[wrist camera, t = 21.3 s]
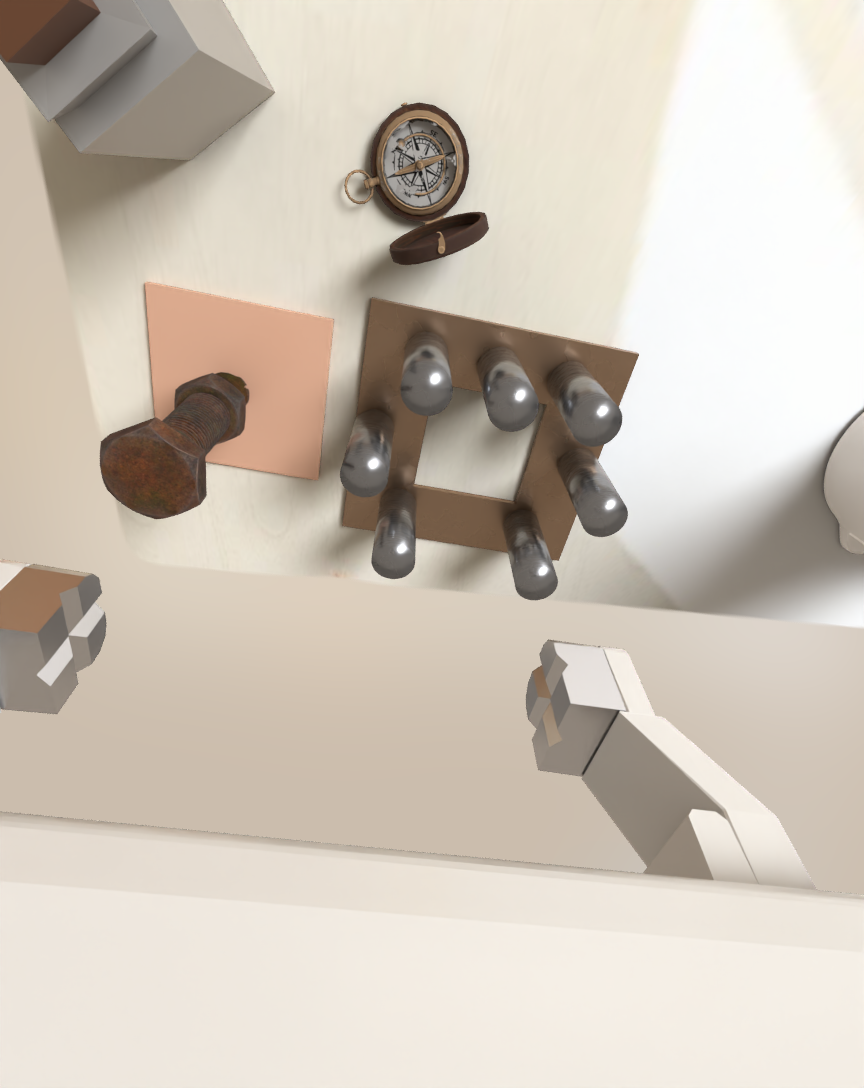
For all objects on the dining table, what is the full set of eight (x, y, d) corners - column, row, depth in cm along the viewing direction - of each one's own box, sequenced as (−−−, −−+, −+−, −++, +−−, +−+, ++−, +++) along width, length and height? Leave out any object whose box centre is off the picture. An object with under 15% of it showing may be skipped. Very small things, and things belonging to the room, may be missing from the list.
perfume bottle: (107, 36, 32) (-174, -87, 17) (196, -47, 30) (-30, -265, 15) (190, 160, 35) (15, 148, 20) (275, 92, 34) (153, 24, 19)
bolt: (262, 430, 45) (198, 529, 32) (197, 419, 44) (106, 515, 32) (264, 358, 42) (195, 436, 29) (194, 344, 41) (93, 418, 29)
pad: (333, 319, 41) (333, 320, 40) (318, 478, 48) (317, 480, 47) (147, 281, 39) (144, 282, 39) (159, 451, 46) (157, 453, 46)
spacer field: (638, 352, 42) (684, 391, 35) (558, 557, 52) (580, 621, 45) (370, 297, 40) (357, 325, 32) (341, 522, 50) (327, 584, 42)
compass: (452, 85, 34) (458, 66, 27) (484, 230, 38) (495, 241, 32) (328, 133, 35) (307, 125, 29) (372, 269, 39) (362, 286, 33)
